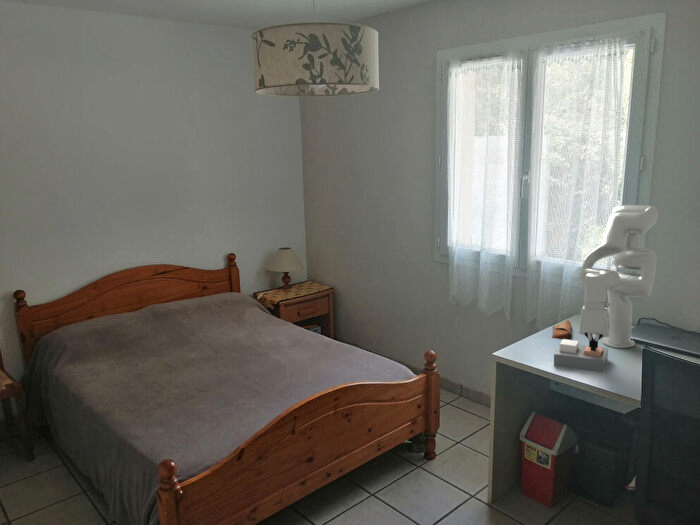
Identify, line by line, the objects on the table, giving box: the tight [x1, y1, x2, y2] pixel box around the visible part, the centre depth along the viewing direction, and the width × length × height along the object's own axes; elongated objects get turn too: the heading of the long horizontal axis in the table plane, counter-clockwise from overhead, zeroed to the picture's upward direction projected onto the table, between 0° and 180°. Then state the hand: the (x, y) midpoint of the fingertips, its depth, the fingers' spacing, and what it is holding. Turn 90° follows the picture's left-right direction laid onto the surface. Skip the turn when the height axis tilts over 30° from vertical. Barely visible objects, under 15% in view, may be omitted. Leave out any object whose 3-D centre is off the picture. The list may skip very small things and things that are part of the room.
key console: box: [553, 343, 609, 374], centre depth 215 cm, size 14×18×5 cm
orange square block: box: [584, 345, 604, 357], centre depth 213 cm, size 6×6×4 cm
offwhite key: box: [559, 339, 580, 353], centre depth 217 cm, size 6×6×4 cm
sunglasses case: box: [551, 319, 572, 340], centre depth 250 cm, size 18×7×7 cm, turn 159°
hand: (593, 349), depth 212 cm, fingers closed
